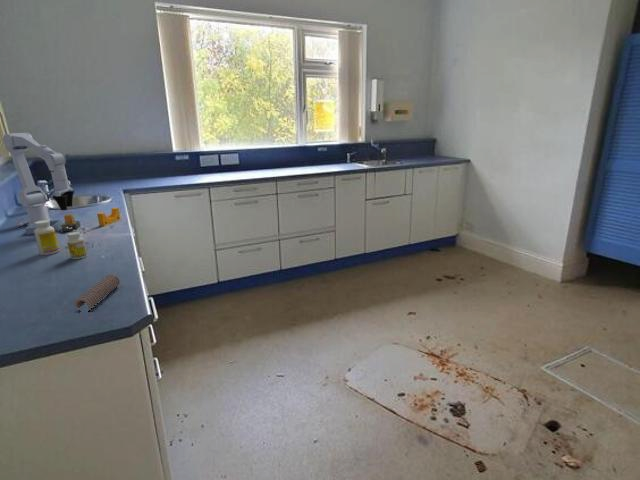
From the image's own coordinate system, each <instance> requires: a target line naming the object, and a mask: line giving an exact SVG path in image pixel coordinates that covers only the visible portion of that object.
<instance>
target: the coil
mask: <svg viewBox="0 0 640 480" xmlns="http://www.w3.org/2000/svg"><path fill="white" fill-rule="evenodd" d="M120 283H121V279H120V278H119V276H117V275H116V274H113V273H109V274H108V275H107V276H105V277H104V278H102V279H101V280H100V281H99V282H97V283H96V284H94V286H92V287H91V288H89V290H87V291H86V292H84V293H83V294H82V295H80V296H79V297H78V298H77V299H76V300H75V301H74V307H75V308H76V309H77V308H80V307H81V306H82V305H84V303H87V305H88V309H91V307H93V306H94V305H95V304H97V302H99V301H100V300H101V299H103V298H104V297H105V296H106V295H108V293H110V292H111V291H112V290H113V289H115V288H116V287H117V286H118V285H119V286H120ZM119 286H118V287H119ZM118 287H117V288H118ZM117 288H116V289H117ZM116 289H115V290H116ZM113 291H114V290H113ZM113 291H112V292H113ZM112 292H111V293H112ZM111 293H110V294H111ZM108 296H109V295H108ZM105 298H106V297H105ZM105 298H104V299H105ZM104 299H103V300H104ZM97 305H98V304H97Z"/></svg>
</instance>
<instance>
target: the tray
mask: <svg viewBox="0 0 640 480" xmlns="http://www.w3.org/2000/svg"><path fill="white" fill-rule="evenodd" d="M49 222H50V226H51V227H53V228H54V230H55V233H56V232H57V231H58V230H60V229H62V227H61V225H62V224H63V223H64V222H63V220H62V219H57V220H56V219H55V220H50V221H49ZM36 228H37V227H36V226H35V222H34V223H33V224H31V225H27V227H25V228H24V231H25V234H26V235H27V236H28V235H35V234H34V230H35V229H36Z"/></svg>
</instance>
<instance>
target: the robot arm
mask: <svg viewBox="0 0 640 480" xmlns="http://www.w3.org/2000/svg"><path fill="white" fill-rule="evenodd" d="M2 138H3V139H2V142H3V144H4V148H5V150H6V152H7V153H10V154H9V155H10V156H11V159H12V163H13V165H14V167H15V171H16V172H17V173H16V174H17V176H18V179H19V181H20V183H21V184H20V185H21V186H22V187H21V189H20V190H19V191H18V192H17V194H18V198H19V200H18V201H19V203H20V204H21V206H23V207H24V208H26V212H27V215H28V219H29V223H27V224H26V225H27V226H30V225H31V224H33V223H34V222H37V221H42V220H49V221H53V219H52V218H50V213H49V211H48V207H47V206H46V202H47V196H46V194H45V192H44V191H43V188H41V187H39V186H37V185H36V184H35V180H34V178H33V175H32V173H31V169H30V168H29V167H30V166H29V164H28V162H27V158H26V156H25V152H26V151H28V150H29V149H30V150H32V151H34V152H35V155H36V156H38V157H39V158H41V160H44V162H45V164H46V166H47V167H48V170H49V171H50V175H51V178H52V182H53V187H54V193H53V194H54V195H52V199H53V200H54V201H55V202H56V203H57V204H58V207H59V209H60V211H67V210H68V207H70V208H71V207H73V198H74V194H75V191H74V189H73V187H71V185H70V184H69V180H68V179H69V178H68V176H67V171H66V167H65V165H66V164H67V158H66V155H65V154H64V153H63V152H61V151H60V152H56V151H55V150H53V149H51V148H50V147H48V145H46V144H40V143H39V142H37V141H36V140H35V139H33V136H32V134H31V133H29V132H27V131H26V132H14V133H11V132H10V133H8V132H6V133H4V135H3V137H2Z"/></svg>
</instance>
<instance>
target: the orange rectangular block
mask: <svg viewBox="0 0 640 480" xmlns="http://www.w3.org/2000/svg"><path fill="white" fill-rule="evenodd" d="M63 219H64V223H66V224H72V223H74V222H75V221H76V220H75V216H74V213H67V214H64V215H63Z"/></svg>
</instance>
